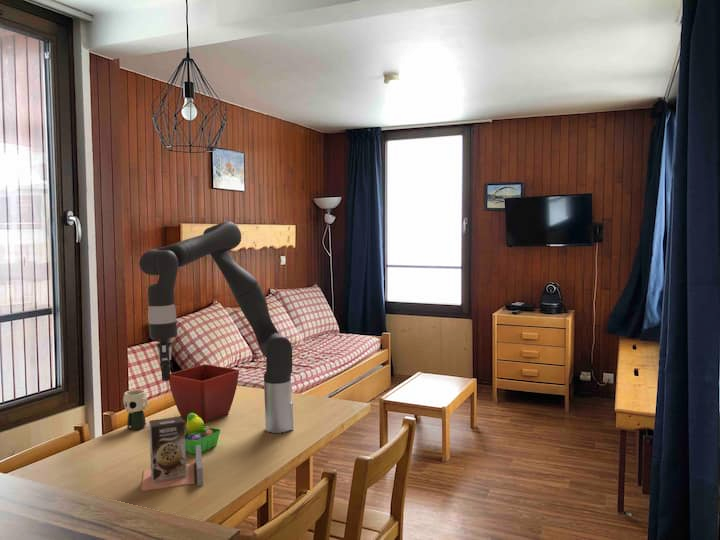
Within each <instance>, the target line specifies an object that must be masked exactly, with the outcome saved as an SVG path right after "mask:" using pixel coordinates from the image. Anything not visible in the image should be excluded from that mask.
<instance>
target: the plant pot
mask: <svg viewBox="0 0 720 540" xmlns="http://www.w3.org/2000/svg"><path fill="white" fill-rule="evenodd" d="M239 373H240V369H236V368H230V367H225V366H218V365H214V364H213V365H212V364H201V365H197V366H194V367H189V368H186V369H181V370H179V371H175V372H172V373H171V372H170V380H168V383H169V384H168V385H169V388H170V391H171V394H172V398H173V401H174V404H175V406H176V408H177V411H178V413H179V415H180V416H181V417H182V419H186V420H187V416H188V414H190V413H194V414H196V415H198V417H200V418H201V419H202V420H203V422H204V424H205V423H208V422H211V421H213V420H217V419H218V418H221V417H224V416H226V414H227V415H229V413H230V411H231V407H232V404H233V401H234V398H235V395H236V391H237V388H238V387H237V386H238V381H239V375H240V374H239Z"/></svg>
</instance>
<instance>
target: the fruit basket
mask: <svg viewBox="0 0 720 540" xmlns="http://www.w3.org/2000/svg"><path fill="white" fill-rule="evenodd" d="M204 424H205V423H204V422H203V420H202V419H201V418H200V417H198V415H196V414H194V413H190V414H188V416H187V419H186V425H185V427H186V428H185V429H186V430H187V433H185V453H188V454H192V455H195V456H196V445H201V453H203V452H205V451H207V450H209V449H211V448H213V447H216V446H217V445H218V440H219V436H220V433H221V429H219V428H215V427H211V426H208V425H207V426H204Z"/></svg>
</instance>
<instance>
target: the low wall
mask: <svg viewBox="0 0 720 540" xmlns="http://www.w3.org/2000/svg"><path fill="white" fill-rule="evenodd" d="M202 457H203V455H202V452H201V445H196V455H195V458H196V459H195V462H196V480H197V481H196V484H197V487H202V486H204V477H203V476H204V472H203V458H202Z"/></svg>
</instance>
